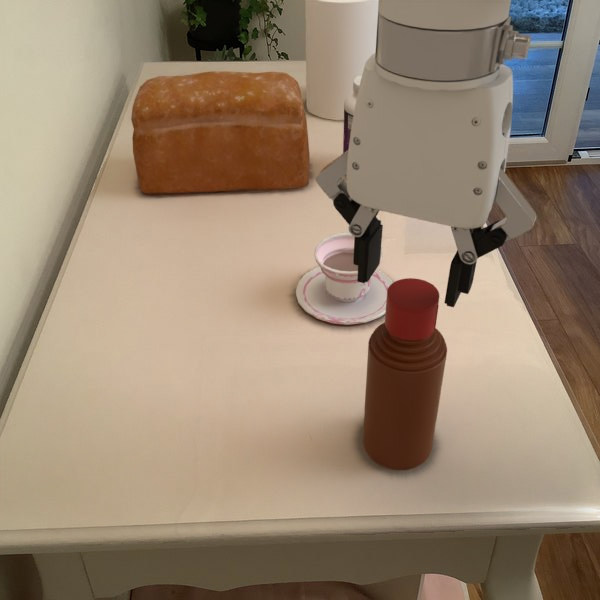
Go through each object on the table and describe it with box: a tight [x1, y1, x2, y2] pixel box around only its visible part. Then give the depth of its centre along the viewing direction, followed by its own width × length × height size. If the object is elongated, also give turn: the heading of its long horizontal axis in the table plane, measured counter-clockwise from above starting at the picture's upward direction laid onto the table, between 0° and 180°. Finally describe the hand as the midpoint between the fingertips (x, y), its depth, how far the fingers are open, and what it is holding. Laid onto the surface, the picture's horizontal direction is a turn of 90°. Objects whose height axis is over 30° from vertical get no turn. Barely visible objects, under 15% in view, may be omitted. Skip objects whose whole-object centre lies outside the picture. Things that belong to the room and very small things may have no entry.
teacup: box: [295, 231, 394, 326], centre depth 79 cm, size 12×12×6 cm
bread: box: [130, 70, 310, 195], centre depth 101 cm, size 14×26×16 cm, turn 93°
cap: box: [384, 277, 440, 341], centre depth 53 cm, size 4×4×3 cm
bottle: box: [362, 321, 448, 471], centre depth 57 cm, size 6×6×17 cm
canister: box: [304, 0, 379, 121], centre depth 121 cm, size 14×14×20 cm
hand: (410, 282), depth 51 cm, fingers open, 6 cm apart
